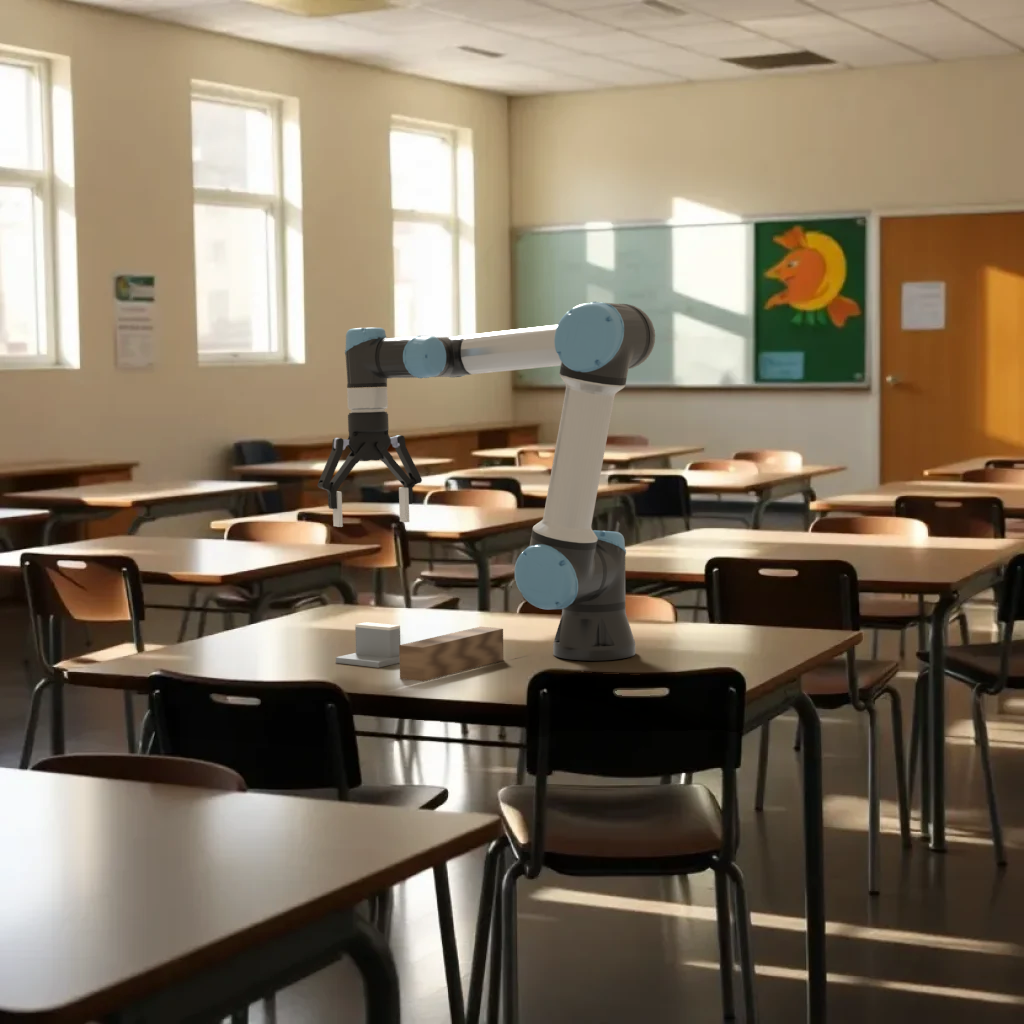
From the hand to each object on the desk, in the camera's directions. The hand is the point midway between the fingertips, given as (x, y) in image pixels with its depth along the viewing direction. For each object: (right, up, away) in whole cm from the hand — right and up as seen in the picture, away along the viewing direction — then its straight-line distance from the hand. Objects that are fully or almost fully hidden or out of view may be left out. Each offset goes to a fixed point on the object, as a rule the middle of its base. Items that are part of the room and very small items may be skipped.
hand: (371, 524), depth 325 cm
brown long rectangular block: (+16, -26, -20) cm, 36 cm away
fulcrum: (+2, -25, -10) cm, 27 cm away
